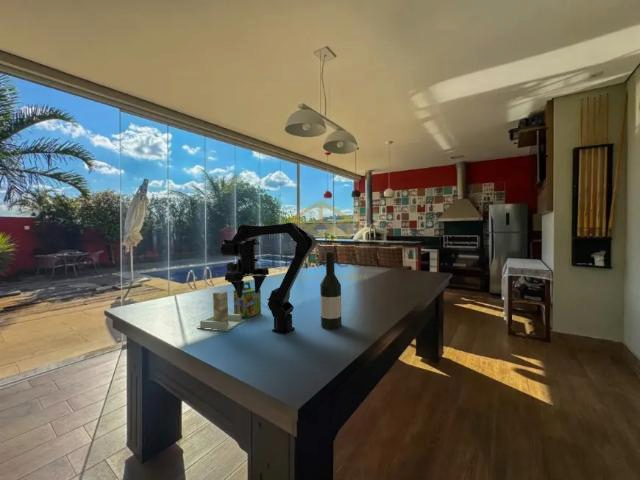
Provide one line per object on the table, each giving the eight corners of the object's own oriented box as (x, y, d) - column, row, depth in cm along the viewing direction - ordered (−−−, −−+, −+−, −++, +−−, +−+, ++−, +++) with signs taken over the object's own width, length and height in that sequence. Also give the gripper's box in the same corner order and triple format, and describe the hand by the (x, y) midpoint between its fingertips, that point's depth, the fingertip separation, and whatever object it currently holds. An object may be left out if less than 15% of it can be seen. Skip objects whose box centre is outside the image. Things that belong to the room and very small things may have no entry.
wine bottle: (340, 330, 106) (338, 252, 105) (318, 328, 108) (317, 252, 107) (342, 322, 114) (341, 250, 113) (323, 321, 116) (321, 250, 115)
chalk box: (245, 318, 122) (245, 285, 122) (233, 315, 128) (232, 283, 127) (261, 313, 130) (261, 282, 129) (249, 310, 135) (248, 280, 135)
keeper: (243, 321, 118) (243, 314, 118) (227, 331, 107) (227, 323, 107) (215, 319, 122) (215, 312, 122) (196, 328, 110) (196, 321, 110)
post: (228, 322, 116) (227, 291, 115) (222, 325, 112) (221, 293, 111) (219, 321, 117) (219, 291, 116) (213, 324, 113) (213, 293, 113)
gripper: (249, 254, 122) (250, 289, 122) (214, 257, 106) (215, 298, 106) (269, 254, 116) (270, 291, 116) (235, 258, 100) (236, 301, 100)
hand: (248, 295), depth 110 cm, fingers open, 9 cm apart
